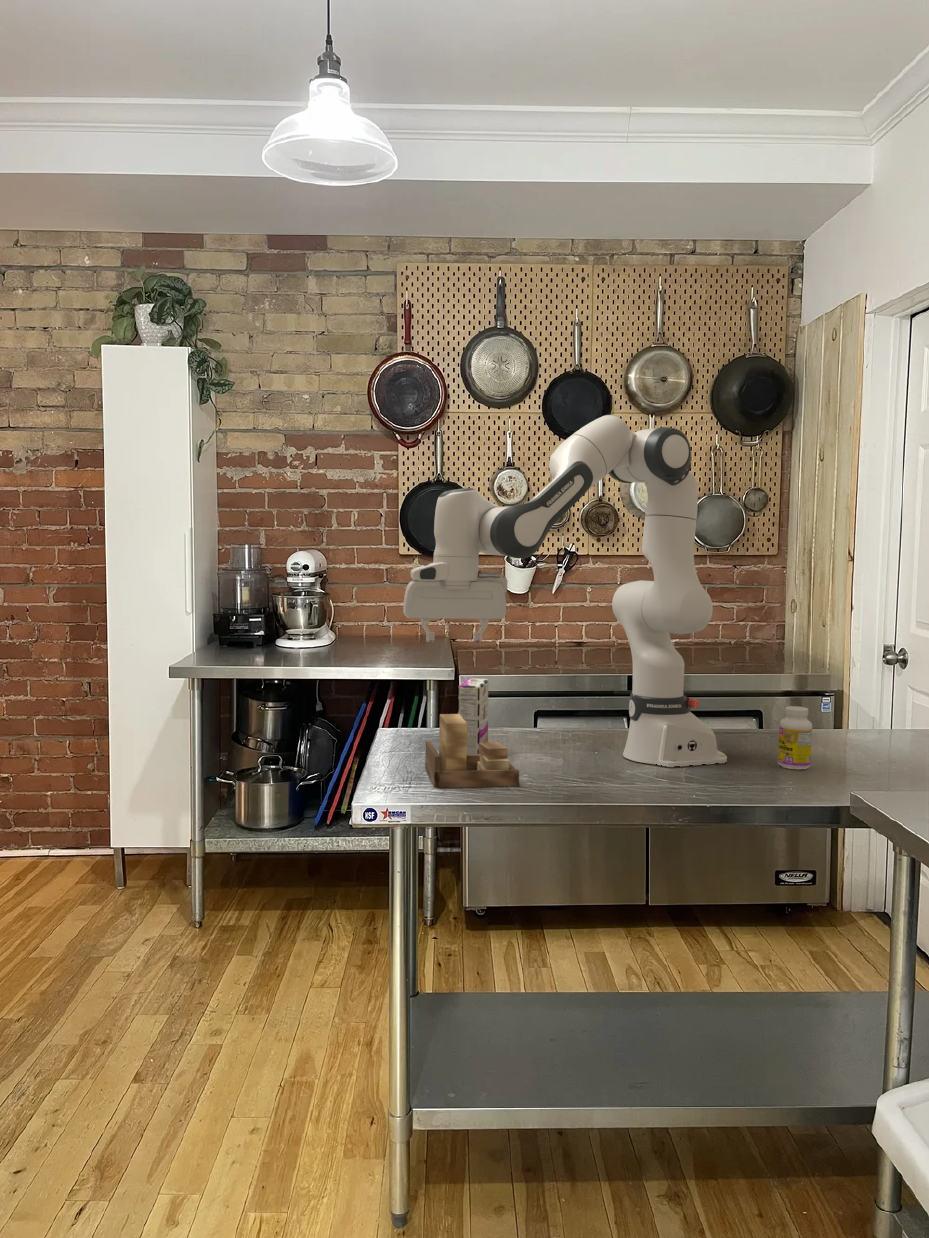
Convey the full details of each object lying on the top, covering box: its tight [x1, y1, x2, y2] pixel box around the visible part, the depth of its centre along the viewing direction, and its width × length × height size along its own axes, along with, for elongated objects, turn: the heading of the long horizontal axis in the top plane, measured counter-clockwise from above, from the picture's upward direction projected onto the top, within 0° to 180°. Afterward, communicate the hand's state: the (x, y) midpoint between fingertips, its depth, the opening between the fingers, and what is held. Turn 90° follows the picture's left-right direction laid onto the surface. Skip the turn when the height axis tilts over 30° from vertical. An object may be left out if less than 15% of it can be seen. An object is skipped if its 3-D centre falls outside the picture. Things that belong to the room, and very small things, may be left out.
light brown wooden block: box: [438, 713, 467, 771], centre depth 189 cm, size 4×10×12 cm, turn 9°
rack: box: [424, 740, 520, 788], centre depth 190 cm, size 16×14×6 cm
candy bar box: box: [457, 677, 489, 754], centre depth 209 cm, size 11×5×16 cm, turn 168°
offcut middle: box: [480, 754, 510, 770], centre depth 190 cm, size 4×8×2 cm, turn 8°
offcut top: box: [479, 741, 508, 759], centre depth 190 cm, size 4×6×2 cm, turn 16°
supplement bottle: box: [777, 705, 813, 768], centre depth 203 cm, size 7×7×13 cm
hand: (454, 641), depth 187 cm, fingers open, 8 cm apart
